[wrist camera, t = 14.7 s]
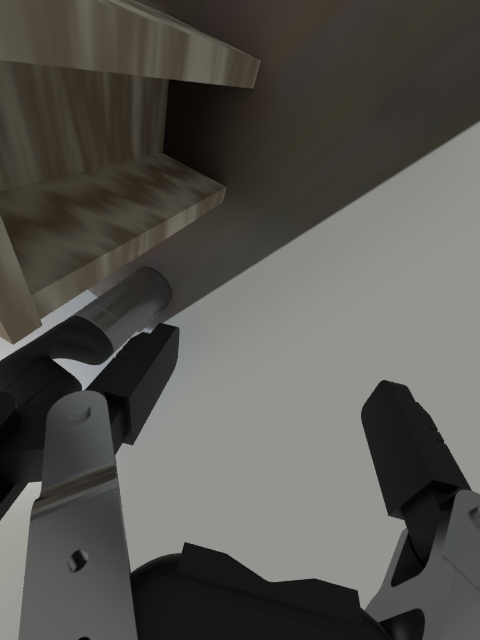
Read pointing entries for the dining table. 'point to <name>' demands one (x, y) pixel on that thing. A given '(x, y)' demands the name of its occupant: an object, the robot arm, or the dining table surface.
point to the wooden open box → (93, 144)
